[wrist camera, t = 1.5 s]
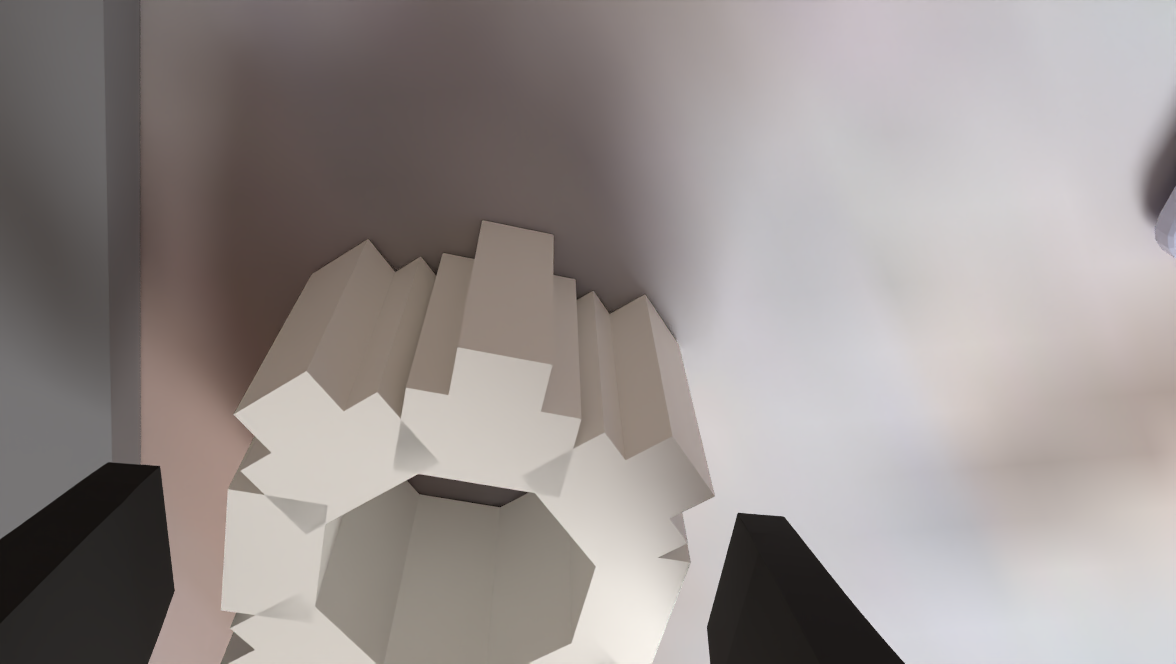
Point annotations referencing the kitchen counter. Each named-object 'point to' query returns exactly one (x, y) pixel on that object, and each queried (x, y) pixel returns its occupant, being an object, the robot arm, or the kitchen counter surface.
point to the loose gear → (461, 469)
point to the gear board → (67, 246)
